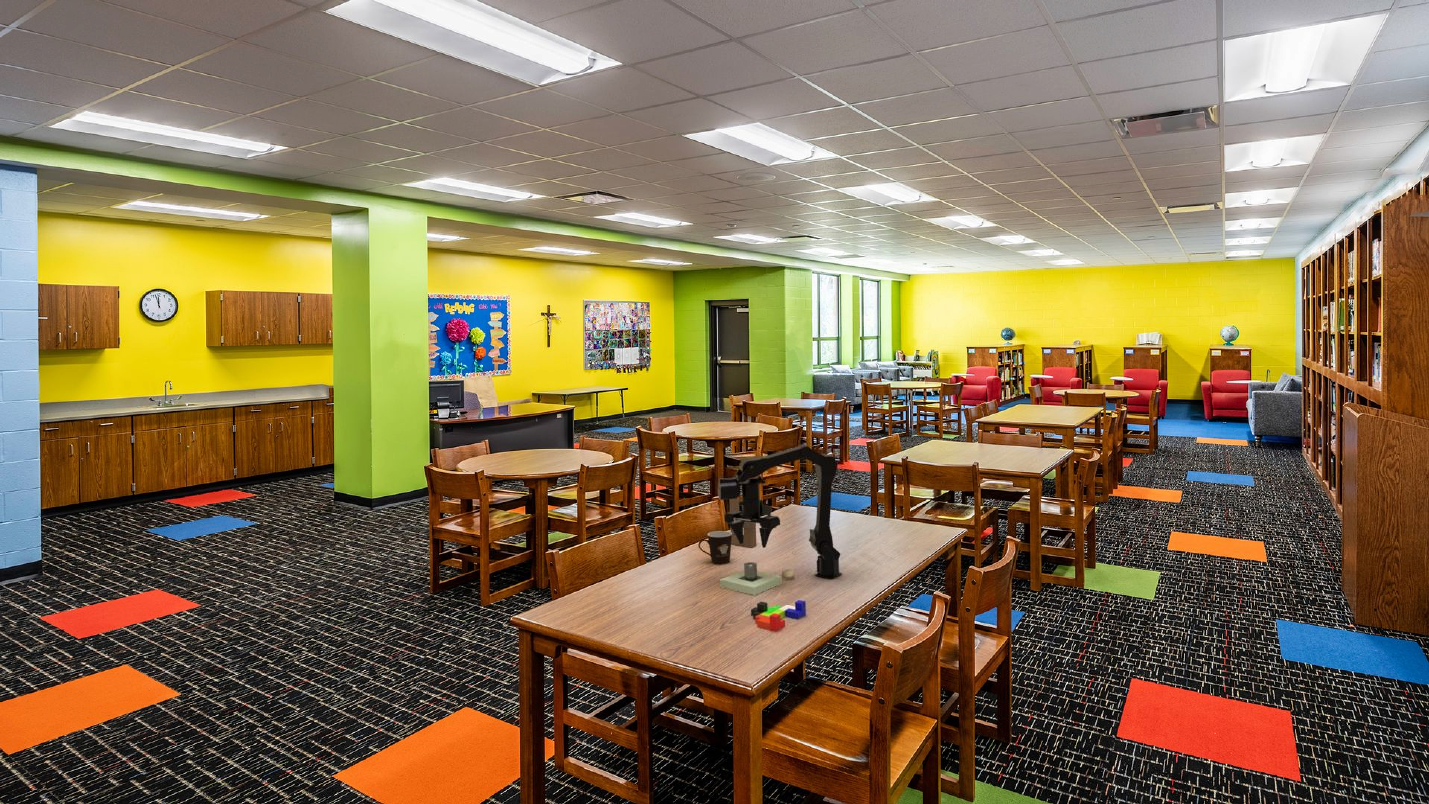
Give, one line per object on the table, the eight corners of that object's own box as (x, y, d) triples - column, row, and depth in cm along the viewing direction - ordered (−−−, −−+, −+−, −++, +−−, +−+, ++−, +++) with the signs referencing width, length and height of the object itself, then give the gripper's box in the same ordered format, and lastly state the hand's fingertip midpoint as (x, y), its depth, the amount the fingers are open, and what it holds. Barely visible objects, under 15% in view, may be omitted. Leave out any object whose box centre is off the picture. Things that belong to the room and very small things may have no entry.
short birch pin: (796, 578, 254) (796, 570, 254) (789, 581, 251) (789, 573, 251) (786, 576, 257) (786, 568, 256) (779, 579, 254) (779, 571, 253)
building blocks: (768, 608, 227) (767, 593, 227) (806, 616, 219) (805, 601, 219) (737, 623, 215) (737, 608, 215) (776, 632, 207) (776, 617, 207)
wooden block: (751, 548, 293) (749, 500, 291) (728, 544, 299) (727, 498, 298) (757, 546, 296) (755, 499, 294) (734, 542, 302) (732, 496, 301)
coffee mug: (733, 558, 279) (732, 531, 279) (732, 565, 271) (731, 537, 270) (701, 558, 281) (700, 531, 280) (698, 565, 272) (697, 537, 271)
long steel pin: (760, 585, 247) (759, 563, 247) (752, 588, 245) (751, 566, 244) (750, 583, 250) (749, 561, 250) (742, 586, 247) (741, 564, 247)
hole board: (782, 583, 248) (781, 576, 248) (754, 595, 237) (754, 587, 237) (747, 576, 257) (747, 569, 257) (719, 587, 247) (719, 579, 247)
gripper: (789, 495, 249) (791, 543, 251) (743, 490, 262) (745, 536, 263) (768, 502, 241) (770, 551, 242) (722, 496, 253) (724, 543, 254)
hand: (752, 545), depth 251 cm, fingers open, 9 cm apart
